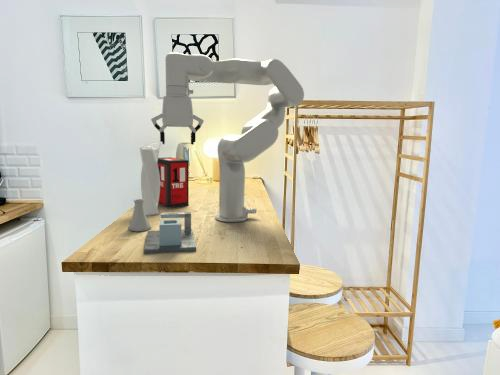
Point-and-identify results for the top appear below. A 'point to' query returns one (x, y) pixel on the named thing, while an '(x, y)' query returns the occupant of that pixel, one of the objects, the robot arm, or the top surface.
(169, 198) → the cleaning product box
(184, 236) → the base
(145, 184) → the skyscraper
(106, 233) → the top surface
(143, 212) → the flask
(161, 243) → the link
